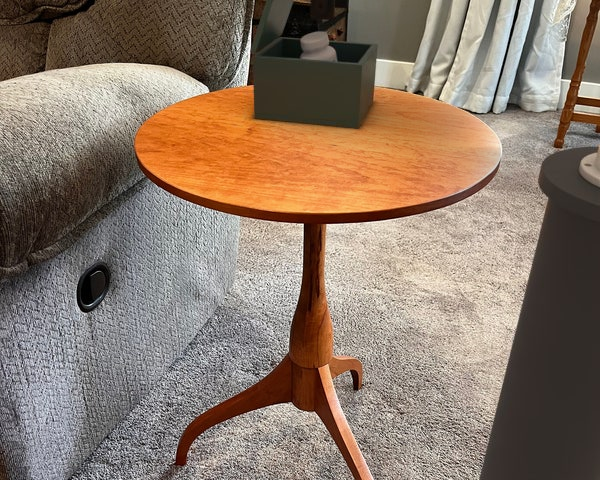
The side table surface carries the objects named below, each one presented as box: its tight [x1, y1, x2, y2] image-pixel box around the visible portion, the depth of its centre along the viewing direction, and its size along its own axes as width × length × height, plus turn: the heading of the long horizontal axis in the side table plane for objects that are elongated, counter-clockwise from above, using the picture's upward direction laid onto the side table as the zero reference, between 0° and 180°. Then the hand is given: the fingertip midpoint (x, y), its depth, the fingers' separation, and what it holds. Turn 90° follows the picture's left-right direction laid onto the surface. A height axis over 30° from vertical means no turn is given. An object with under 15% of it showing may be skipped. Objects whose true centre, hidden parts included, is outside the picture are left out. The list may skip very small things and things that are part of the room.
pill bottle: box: [300, 31, 338, 62], centre depth 95 cm, size 5×5×10 cm
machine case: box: [252, 36, 379, 129], centre depth 97 cm, size 16×14×9 cm
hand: (329, 12), depth 91 cm, fingers open, 9 cm apart
